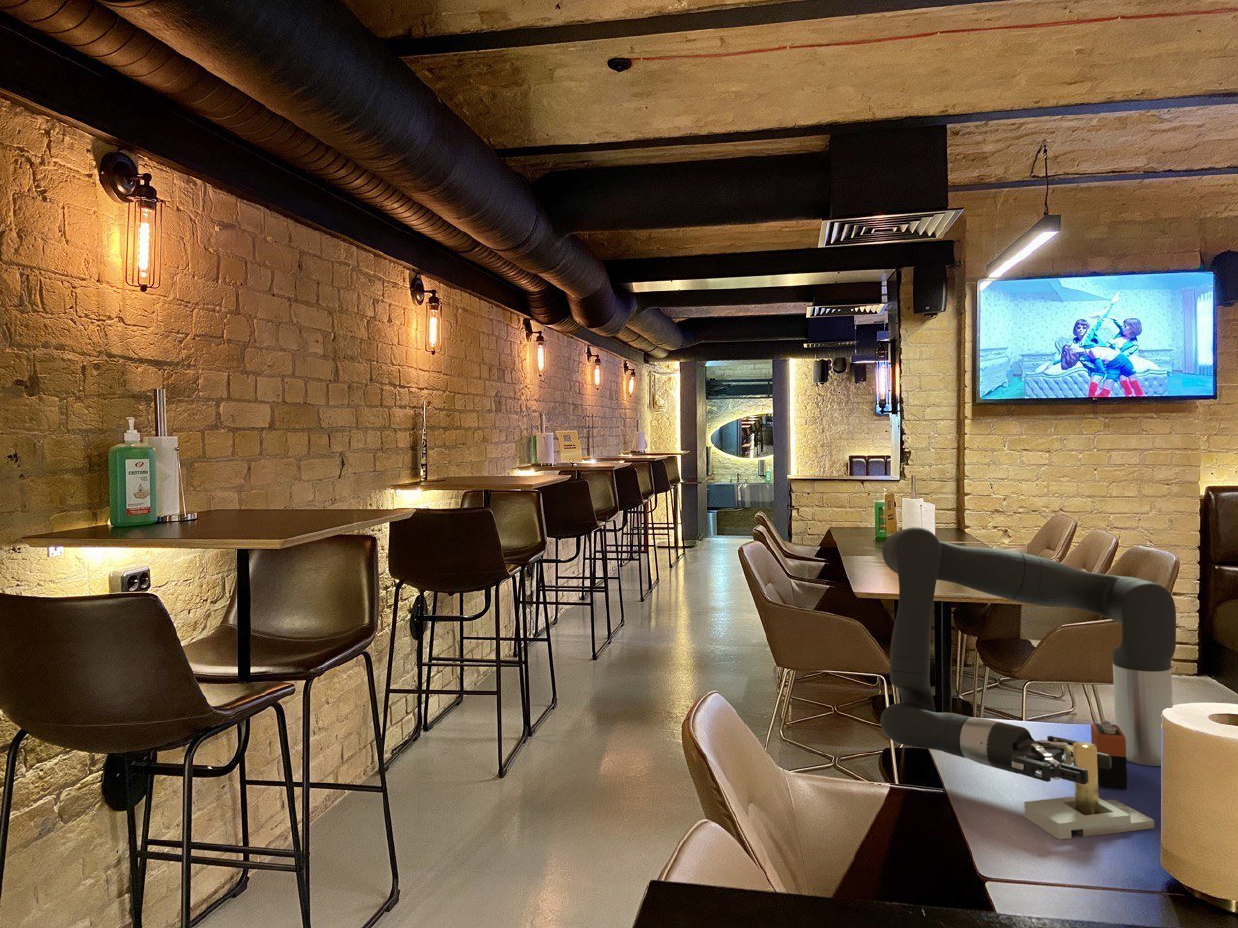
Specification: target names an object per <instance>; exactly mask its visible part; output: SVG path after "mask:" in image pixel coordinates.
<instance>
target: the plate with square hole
mask: <svg viewBox="0 0 1238 928" xmlns="http://www.w3.org/2000/svg"><path fill="white" fill-rule="evenodd" d="M1023 806H1024V818H1025V819H1027V820H1029V821H1030V822H1032V823H1033V824H1035V825H1036V826H1037V827H1039V828H1040V829H1042V830H1044V832H1047V833H1049V834H1050V835H1051V836H1053V837H1054V838H1056V839H1058V840H1068V839H1072V831H1074V830H1077V829H1085V828H1093V827H1102V826H1110V825H1119V824H1127V823H1131V817H1130V815H1129V814H1127V813H1126V812H1124V811H1122V810H1120V809H1118V808H1116V807H1115V806H1113V805H1111V804H1109V803H1107V802H1105V801H1104V800H1103V799H1102V798H1100V797H1099V811H1100V812H1101V813H1102V814H1093V815H1083V814H1081V813H1080V812H1078V811H1076V810H1075V809H1074V808H1075V795H1074V796H1064V797H1058V798H1057V797H1056V798H1048V799H1047V798H1046V799H1039V800H1038V799H1036V800H1029V801H1028V800H1027V801H1024V803H1023Z"/></svg>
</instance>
